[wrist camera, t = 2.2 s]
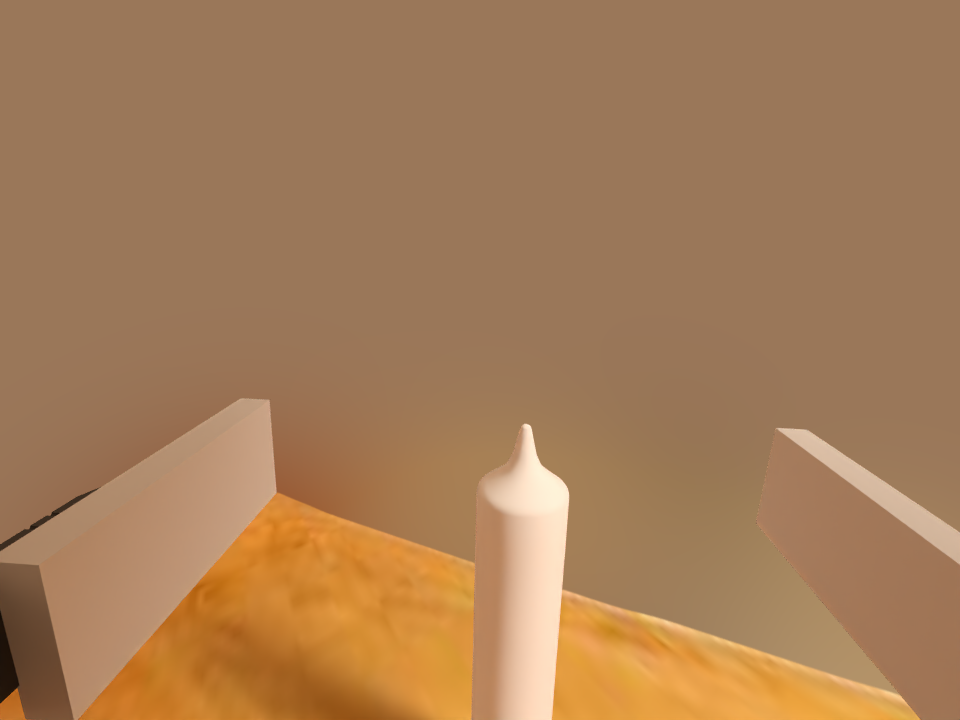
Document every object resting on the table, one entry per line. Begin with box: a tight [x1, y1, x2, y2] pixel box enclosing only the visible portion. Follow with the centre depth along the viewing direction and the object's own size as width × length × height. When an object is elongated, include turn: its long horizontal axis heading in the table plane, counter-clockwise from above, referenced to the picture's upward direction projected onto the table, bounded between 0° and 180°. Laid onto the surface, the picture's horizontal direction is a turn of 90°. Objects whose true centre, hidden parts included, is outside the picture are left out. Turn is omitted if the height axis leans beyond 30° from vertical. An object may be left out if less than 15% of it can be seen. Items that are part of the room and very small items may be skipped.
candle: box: [471, 424, 569, 720], centre depth 26 cm, size 7×7×25 cm
